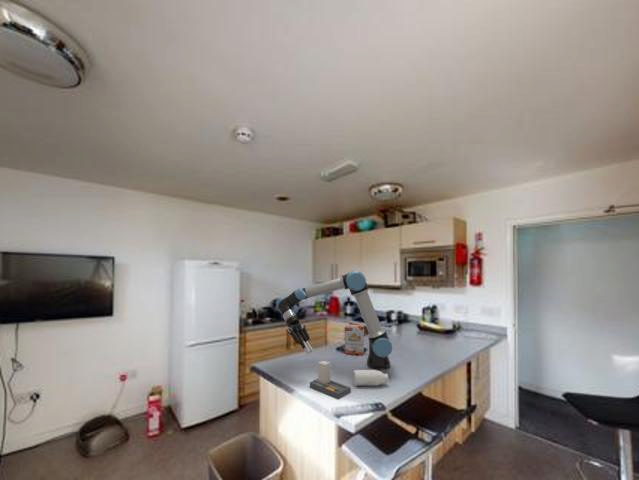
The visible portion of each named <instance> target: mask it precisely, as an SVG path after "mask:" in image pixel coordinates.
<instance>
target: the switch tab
mask: <svg viewBox="0 0 639 480" xmlns="http://www.w3.org/2000/svg"><path fill="white" fill-rule="evenodd" d="M317 363H318V366H317V368H318V369H317V372H318V374H317V375H318V377H317V379H318V381H320V382H323V383H325V384H327V383H330V380H331V362H329V361H325V360H321V361H318V362H317Z"/></svg>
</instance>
